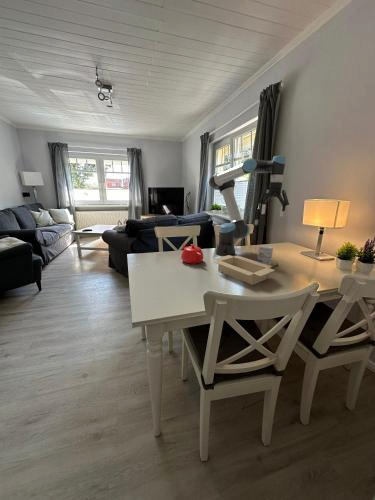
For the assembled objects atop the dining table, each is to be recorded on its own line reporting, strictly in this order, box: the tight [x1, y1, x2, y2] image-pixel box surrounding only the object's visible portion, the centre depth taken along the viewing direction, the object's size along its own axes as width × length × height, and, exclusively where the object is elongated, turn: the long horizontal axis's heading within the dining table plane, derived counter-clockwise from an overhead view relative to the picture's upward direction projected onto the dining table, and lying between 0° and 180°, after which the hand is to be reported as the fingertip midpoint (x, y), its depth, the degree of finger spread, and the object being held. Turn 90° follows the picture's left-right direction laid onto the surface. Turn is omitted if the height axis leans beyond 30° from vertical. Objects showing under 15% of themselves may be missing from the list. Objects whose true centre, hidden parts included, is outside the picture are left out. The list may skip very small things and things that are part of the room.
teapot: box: [180, 243, 204, 265], centre depth 146 cm, size 25×16×12 cm, turn 31°
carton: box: [213, 255, 275, 286], centre depth 126 cm, size 33×22×7 cm, turn 39°
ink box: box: [256, 244, 274, 265], centre depth 141 cm, size 9×5×12 cm, turn 62°
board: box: [253, 259, 279, 269], centre depth 144 cm, size 14×14×1 cm
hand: (271, 215), depth 143 cm, fingers open, 13 cm apart
